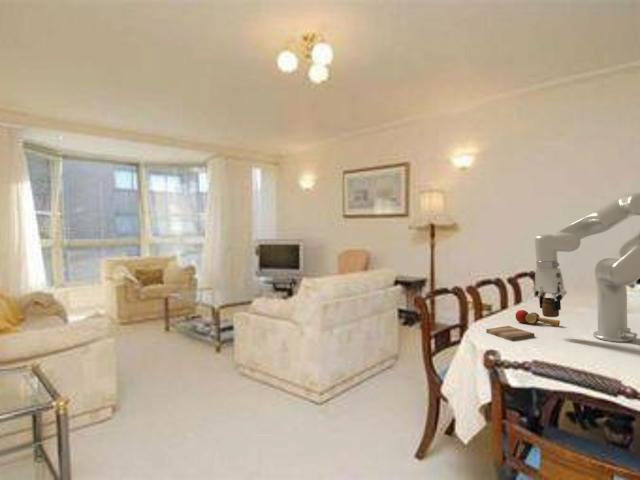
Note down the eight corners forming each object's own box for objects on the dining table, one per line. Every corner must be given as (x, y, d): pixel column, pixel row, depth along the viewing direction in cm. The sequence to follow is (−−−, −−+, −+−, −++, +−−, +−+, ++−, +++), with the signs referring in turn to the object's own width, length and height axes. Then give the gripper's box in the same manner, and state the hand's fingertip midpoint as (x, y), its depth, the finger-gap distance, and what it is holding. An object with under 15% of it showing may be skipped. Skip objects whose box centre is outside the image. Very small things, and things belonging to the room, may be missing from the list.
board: (534, 337, 165) (534, 333, 165) (511, 340, 161) (511, 337, 161) (508, 329, 179) (508, 325, 178) (486, 332, 175) (486, 329, 175)
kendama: (560, 327, 183) (517, 317, 195) (561, 314, 182) (518, 305, 193) (556, 334, 178) (512, 323, 189) (558, 321, 176) (513, 311, 187)
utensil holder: (560, 317, 161) (558, 287, 160) (542, 317, 163) (540, 288, 163) (558, 314, 166) (556, 285, 166) (540, 314, 168) (538, 285, 168)
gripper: (573, 265, 157) (576, 311, 157) (536, 262, 173) (539, 304, 174) (558, 267, 154) (561, 313, 155) (522, 264, 171) (526, 307, 171)
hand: (550, 308), depth 164 cm, fingers closed on utensil holder, 5 cm apart
